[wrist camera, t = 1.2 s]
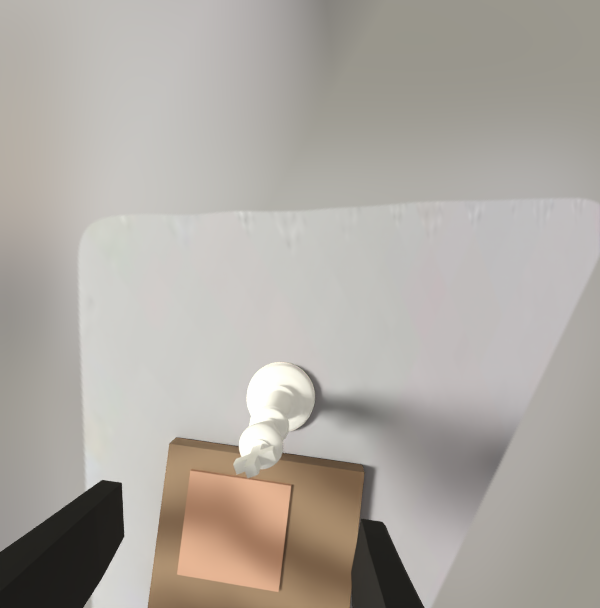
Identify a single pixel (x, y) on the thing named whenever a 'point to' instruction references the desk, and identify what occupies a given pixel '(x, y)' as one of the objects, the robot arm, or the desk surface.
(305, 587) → the walnut board
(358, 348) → the desk surface
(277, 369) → the chess piece
